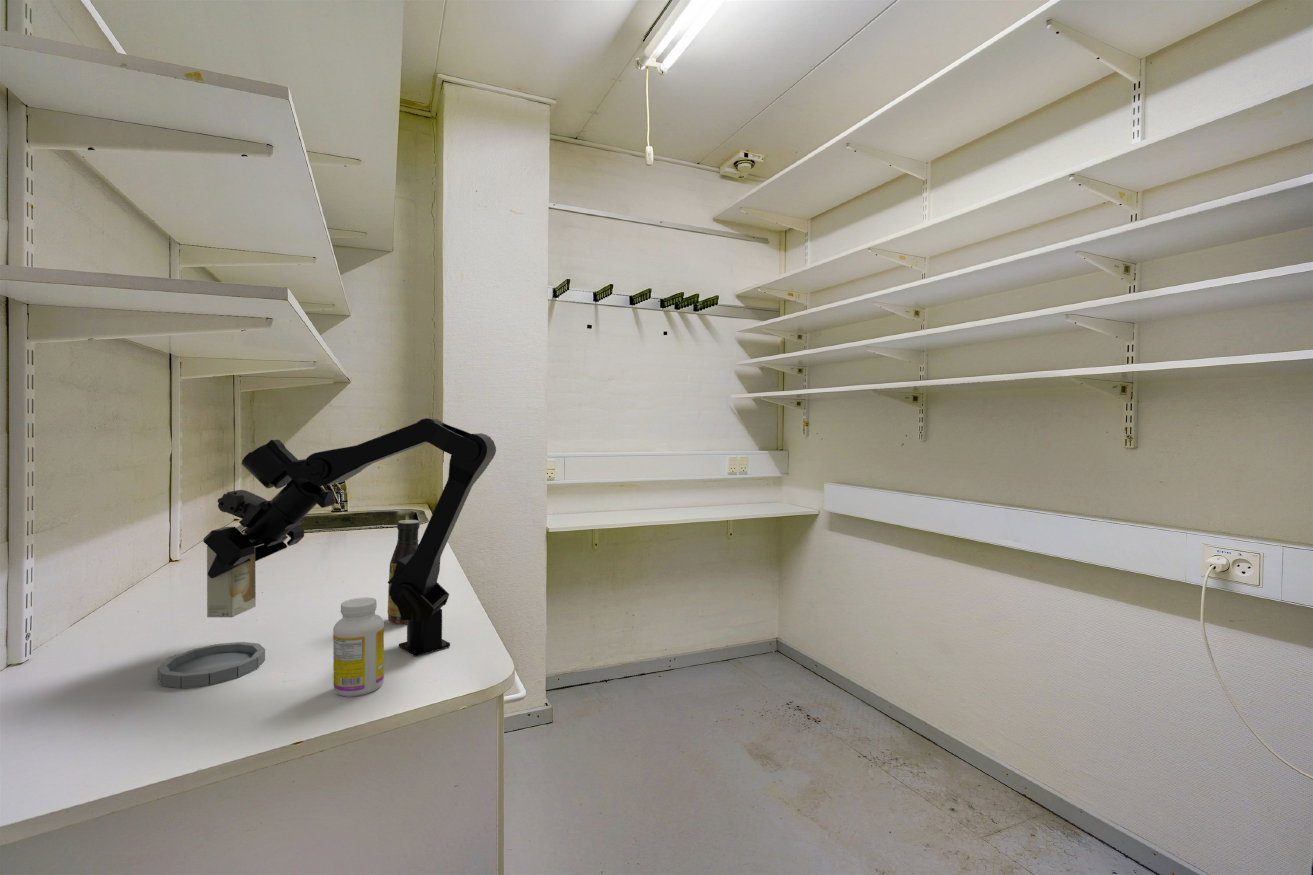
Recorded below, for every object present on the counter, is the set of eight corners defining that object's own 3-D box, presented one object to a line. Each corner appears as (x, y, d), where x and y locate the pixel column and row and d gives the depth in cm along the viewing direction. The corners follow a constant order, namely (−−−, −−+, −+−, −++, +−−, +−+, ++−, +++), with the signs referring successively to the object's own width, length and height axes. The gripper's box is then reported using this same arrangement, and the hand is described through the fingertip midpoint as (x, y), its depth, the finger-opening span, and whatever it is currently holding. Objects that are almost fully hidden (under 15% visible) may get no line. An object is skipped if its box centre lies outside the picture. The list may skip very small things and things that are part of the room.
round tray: (274, 668, 91) (274, 657, 91) (167, 696, 82) (167, 683, 81) (251, 646, 100) (251, 636, 100) (152, 669, 90) (152, 657, 90)
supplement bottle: (371, 674, 90) (372, 592, 90) (392, 686, 86) (392, 601, 85) (325, 688, 85) (325, 602, 84) (344, 703, 80) (345, 611, 80)
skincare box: (232, 618, 96) (231, 546, 96) (205, 618, 96) (204, 546, 96) (257, 606, 103) (256, 538, 102) (233, 606, 103) (231, 538, 102)
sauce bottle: (380, 623, 113) (381, 522, 112) (403, 613, 118) (404, 517, 118) (407, 627, 110) (408, 524, 110) (429, 617, 116) (430, 519, 116)
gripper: (287, 470, 108) (227, 528, 108) (215, 479, 90) (143, 550, 89) (330, 511, 109) (271, 570, 109) (267, 529, 90) (196, 600, 90)
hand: (223, 571), depth 99 cm, fingers closed on skincare box, 6 cm apart
